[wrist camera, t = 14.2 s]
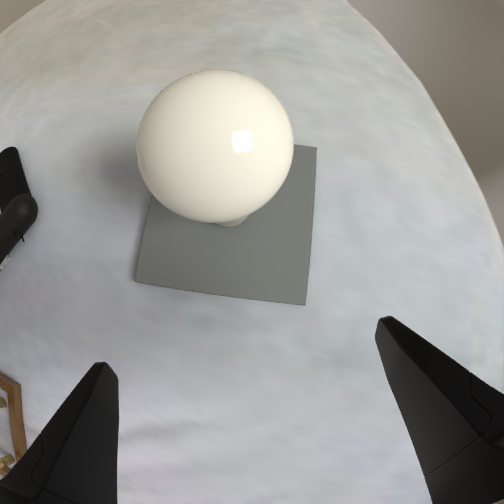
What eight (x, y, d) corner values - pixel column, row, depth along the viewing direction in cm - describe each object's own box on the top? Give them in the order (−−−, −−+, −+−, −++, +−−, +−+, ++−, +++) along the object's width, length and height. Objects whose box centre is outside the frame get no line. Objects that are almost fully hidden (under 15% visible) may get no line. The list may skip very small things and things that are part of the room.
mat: (304, 305, 18) (305, 305, 18) (138, 282, 19) (134, 281, 18) (315, 151, 20) (316, 147, 20) (170, 139, 21) (168, 135, 20)
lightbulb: (183, 262, 18) (97, 196, 8) (182, 172, 20) (127, 55, 9) (284, 254, 18) (320, 173, 8) (274, 163, 20) (288, 35, 9)
